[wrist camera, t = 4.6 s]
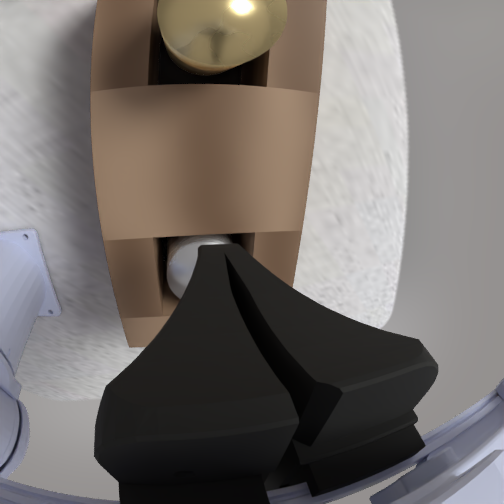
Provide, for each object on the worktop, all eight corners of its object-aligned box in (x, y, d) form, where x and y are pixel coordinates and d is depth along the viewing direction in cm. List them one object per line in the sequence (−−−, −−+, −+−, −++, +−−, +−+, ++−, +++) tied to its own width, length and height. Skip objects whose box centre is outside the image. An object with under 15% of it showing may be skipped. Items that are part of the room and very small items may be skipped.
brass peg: (162, 76, 12) (152, 66, 7) (168, 2, 10) (164, -42, 5) (246, 77, 13) (283, 70, 8) (251, 5, 11) (290, -32, 6)
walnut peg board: (135, 289, 22) (129, 347, 17) (126, -16, 11) (108, -54, 6) (260, 281, 24) (283, 333, 19) (286, -10, 13) (328, -40, 8)
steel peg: (169, 256, 21) (170, 307, 16) (166, 203, 19) (163, 244, 14) (225, 253, 22) (240, 301, 17) (227, 201, 20) (244, 240, 15)
